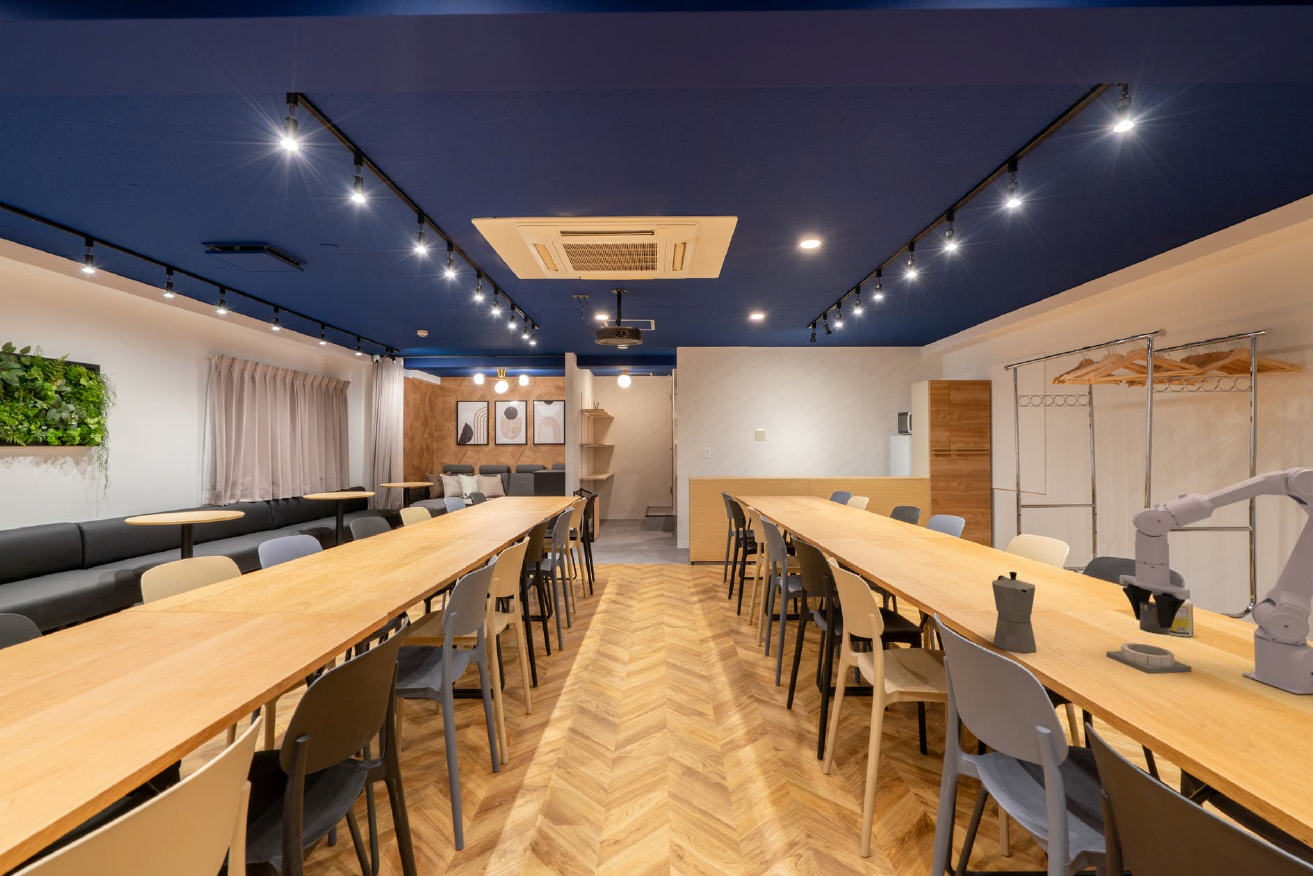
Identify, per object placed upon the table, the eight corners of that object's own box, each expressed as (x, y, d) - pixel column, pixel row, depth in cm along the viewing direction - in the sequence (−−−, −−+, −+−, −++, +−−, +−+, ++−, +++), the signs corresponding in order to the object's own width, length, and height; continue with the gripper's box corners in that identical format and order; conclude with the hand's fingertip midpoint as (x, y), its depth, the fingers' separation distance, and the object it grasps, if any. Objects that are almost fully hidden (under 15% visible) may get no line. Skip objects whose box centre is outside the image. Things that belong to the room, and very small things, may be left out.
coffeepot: (1049, 658, 127) (1048, 578, 128) (1004, 655, 129) (1002, 576, 130) (1020, 636, 143) (1018, 565, 143) (979, 633, 144) (978, 563, 145)
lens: (1175, 634, 123) (1176, 607, 123) (1155, 634, 122) (1156, 607, 122) (1152, 627, 128) (1153, 601, 128) (1133, 627, 127) (1134, 601, 127)
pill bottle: (1179, 629, 147) (1178, 585, 147) (1200, 638, 141) (1199, 591, 141) (1152, 629, 148) (1151, 585, 148) (1172, 637, 141) (1171, 591, 142)
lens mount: (1191, 671, 119) (1191, 657, 119) (1148, 673, 118) (1148, 659, 118) (1146, 654, 129) (1146, 641, 129) (1106, 656, 128) (1106, 643, 128)
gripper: (1106, 556, 132) (1108, 614, 132) (1167, 569, 118) (1168, 634, 118) (1134, 556, 133) (1135, 613, 133) (1198, 569, 118) (1199, 633, 118)
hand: (1153, 623), depth 125 cm, fingers closed on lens, 5 cm apart
